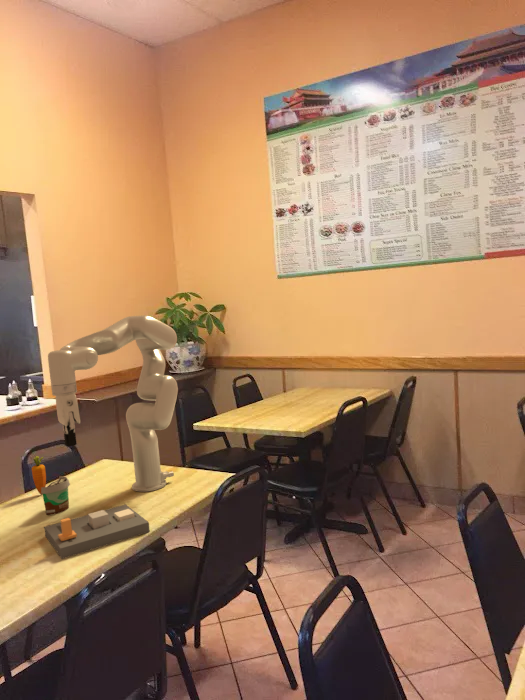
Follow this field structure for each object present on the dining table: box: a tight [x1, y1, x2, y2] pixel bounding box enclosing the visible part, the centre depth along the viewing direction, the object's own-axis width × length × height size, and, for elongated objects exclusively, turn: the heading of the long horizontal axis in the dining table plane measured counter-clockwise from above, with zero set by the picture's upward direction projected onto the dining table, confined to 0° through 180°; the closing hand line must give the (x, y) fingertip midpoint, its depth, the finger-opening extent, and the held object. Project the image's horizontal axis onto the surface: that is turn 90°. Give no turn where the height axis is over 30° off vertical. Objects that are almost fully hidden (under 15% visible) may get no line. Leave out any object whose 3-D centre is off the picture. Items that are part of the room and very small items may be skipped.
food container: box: [40, 475, 71, 516], centre depth 202 cm, size 12×6×10 cm, turn 168°
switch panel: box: [43, 504, 150, 560], centre depth 179 cm, size 26×20×3 cm
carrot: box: [31, 455, 47, 496], centre depth 219 cm, size 5×5×15 cm
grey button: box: [87, 509, 109, 529], centre depth 179 cm, size 5×5×4 cm
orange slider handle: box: [58, 517, 77, 541], centre depth 170 cm, size 4×4×5 cm
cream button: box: [114, 509, 135, 522], centre depth 183 cm, size 5×5×4 cm
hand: (71, 445), depth 188 cm, fingers closed
